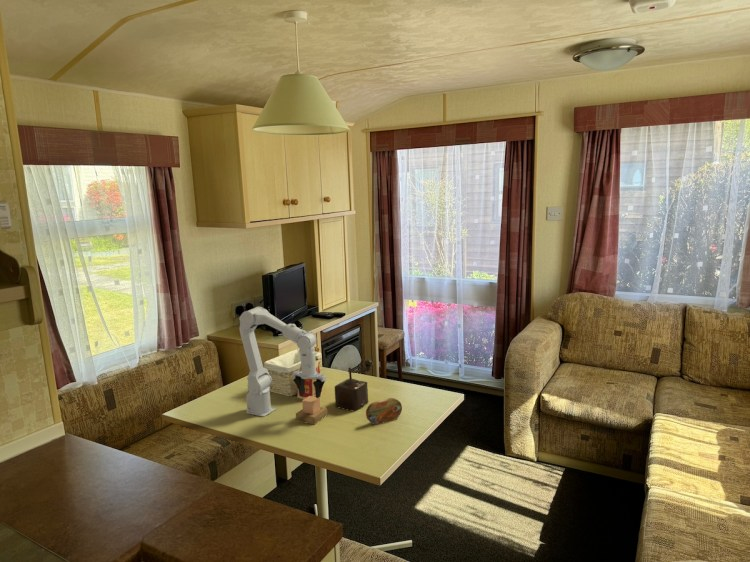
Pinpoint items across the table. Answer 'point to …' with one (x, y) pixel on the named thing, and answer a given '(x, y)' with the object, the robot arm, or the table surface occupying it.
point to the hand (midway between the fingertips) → (310, 395)
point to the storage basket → (286, 372)
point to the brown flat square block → (311, 416)
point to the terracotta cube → (311, 405)
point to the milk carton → (310, 383)
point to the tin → (383, 410)
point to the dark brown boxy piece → (352, 391)
